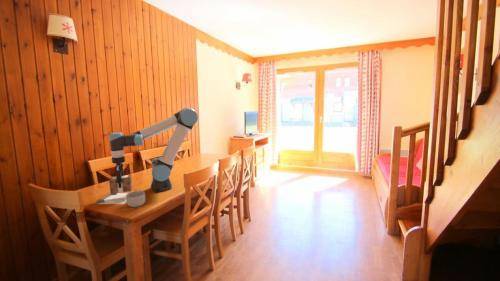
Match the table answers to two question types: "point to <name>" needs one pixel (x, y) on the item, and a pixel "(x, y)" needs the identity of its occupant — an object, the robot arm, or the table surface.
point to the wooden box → (125, 181)
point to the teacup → (135, 198)
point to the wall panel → (113, 199)
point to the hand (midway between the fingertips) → (121, 190)
